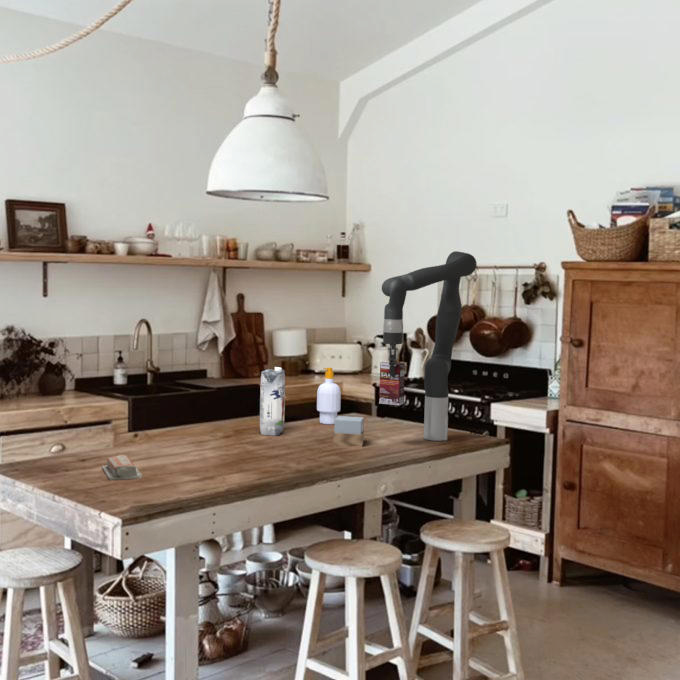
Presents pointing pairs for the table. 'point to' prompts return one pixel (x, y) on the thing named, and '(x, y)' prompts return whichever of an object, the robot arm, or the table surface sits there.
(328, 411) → the soap bottle
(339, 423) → the pale gray block
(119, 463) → the packaged product
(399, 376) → the supplement box
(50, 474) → the table surface
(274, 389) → the juice carton
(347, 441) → the walnut block
